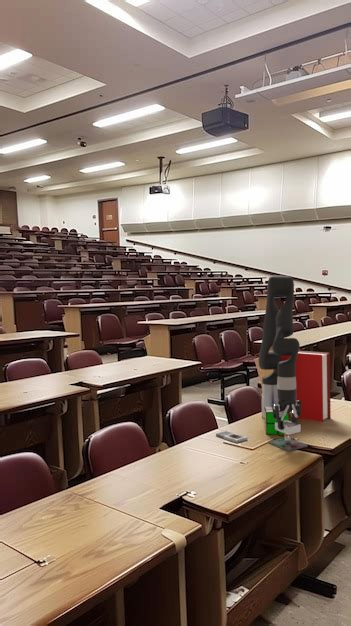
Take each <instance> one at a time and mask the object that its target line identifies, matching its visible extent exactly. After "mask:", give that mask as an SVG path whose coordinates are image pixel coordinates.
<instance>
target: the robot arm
mask: <svg viewBox="0 0 351 626" xmlns="http://www.w3.org/2000/svg"><path fill="white" fill-rule="evenodd" d="M294 283H295V282H294V279H293V277H292V276H290V275H275V274H274V275H270V276H269V278H268V281H267V289H266V291H267V292H266V306H265V312H264V313H265V314H264V318H263V319H264V320H263V328H262V338H261V339H262V340H261V345H260V349H259V354H258V367H259V369H261V370H262V371H263V370H265V371H266V370H267V371H268V370H269V371H270V370H271V372H270V373H269V374H267V375H265V376H263V377H262V380H261V381H262V383H261V385H262V389H261V390H262V397H261V401H260V402H261V417H262V418H263V419H264V418H265V417H264V407H272V410H273V418H274V419H277V420H278V428H279V429H280V430H283V418H284V416H285V415H286V413H288V412H290V414H291V416H292V417H291V416H290V417H291V418H290V419H291V420H290V421H291V422H294V423H297V424H298V418H297V417H298V416H300V415H301V407H302V402H301V401H298V400H295V399H296V398H297V397H296V377H295V365H296V359H297V355H298V352H299V351H300V341H299V340H298V338H294V337H291V336H293V334H294V320H293V318H294V317H293V313H294V299H295V298H294V296H295V294H294V293H295V284H294ZM275 297H280V298H281V297H283V298H284V297H285V301H284V303H283V304H282V306H281V307H280V308H279V306H278V305H277V303H276V300H275ZM271 347H272V350H271ZM289 355H290V358H289V359H288V360H286V361H282V356H289ZM273 369H274V370H273ZM272 370H273V371H272ZM281 411H282V412H283V413H281Z"/></svg>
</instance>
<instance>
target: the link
mask: <svg viewBox="0 0 351 626" xmlns="http://www.w3.org/2000/svg"><path fill="white" fill-rule="evenodd" d="M301 427H302V426H301V424H300V423H298V422H297V423H294V422H291V420H289V421H288V420H285V421H283V430H280V429H279V428H278V422H275V430H277V431H280V432H283V433H286V434H288V435H289V434H291V435H293V434H297V433H301Z"/></svg>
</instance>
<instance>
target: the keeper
mask: <svg viewBox="0 0 351 626" xmlns="http://www.w3.org/2000/svg"><path fill="white" fill-rule="evenodd" d="M291 435H292V434H289V435H288V434H286V433H285V435H284V437H282V438H281V437H280V438H278V439H273V440H269V441H268V444H269V445H271V444H272V446H273V447H276V446H277V447H276V448H279V449H281V448H282V450H283V451H286V450H287V451H286V452H291V451H290V450H292V451H296V450H299V449H304V448H308V444H306V443H303V442H301V441H298V440H295V439H293V438H292V437H291Z"/></svg>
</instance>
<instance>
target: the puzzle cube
mask: <svg viewBox="0 0 351 626" xmlns="http://www.w3.org/2000/svg"><path fill="white" fill-rule="evenodd" d="M281 413H283V412H282V411H281ZM264 417H265V418H263V419H264V421H263V422H264V425H263V427H264V430H265V434H266V435H280V436H281V435H283V436H285V433H283V432H280V431H277V430H275V422H278V420H277V419H274V418H273V410H272V407H264ZM285 420H288V421H290V416H289V412H288V413H286V415H285V416H284V418H283V421H285Z"/></svg>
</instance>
